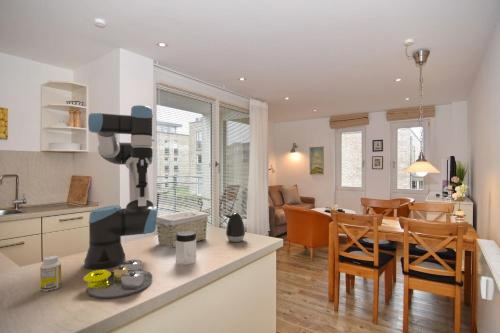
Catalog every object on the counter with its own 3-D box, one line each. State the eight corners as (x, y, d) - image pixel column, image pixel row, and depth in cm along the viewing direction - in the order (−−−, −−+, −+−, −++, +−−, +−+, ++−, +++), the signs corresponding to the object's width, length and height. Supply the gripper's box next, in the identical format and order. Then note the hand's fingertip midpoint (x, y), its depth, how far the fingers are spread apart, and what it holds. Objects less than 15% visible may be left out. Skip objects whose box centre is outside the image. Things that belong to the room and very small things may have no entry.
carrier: (72, 292, 87) (72, 273, 87) (122, 270, 106) (122, 253, 106) (120, 303, 80) (120, 282, 80) (164, 277, 99) (164, 260, 99)
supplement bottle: (54, 283, 94) (53, 253, 94) (65, 285, 92) (64, 255, 92) (36, 290, 89) (36, 259, 89) (47, 293, 87) (47, 261, 87)
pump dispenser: (223, 239, 150) (223, 211, 150) (242, 237, 153) (242, 210, 153) (228, 244, 140) (227, 214, 140) (247, 242, 143) (247, 213, 143)
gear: (103, 276, 95) (78, 285, 89) (103, 266, 95) (78, 273, 89) (116, 282, 91) (91, 291, 84) (116, 271, 91) (91, 279, 84)
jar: (179, 266, 109) (179, 236, 109) (172, 260, 116) (172, 232, 116) (199, 262, 114) (199, 233, 114) (192, 256, 121) (192, 229, 121)
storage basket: (171, 249, 132) (171, 219, 132) (153, 243, 142) (153, 215, 142) (209, 239, 150) (209, 212, 150) (191, 234, 160) (190, 209, 160)
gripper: (153, 145, 92) (154, 207, 92) (151, 149, 116) (151, 199, 116) (129, 144, 90) (130, 208, 90) (132, 149, 113) (132, 200, 113)
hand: (142, 203), depth 103 cm, fingers open, 13 cm apart
